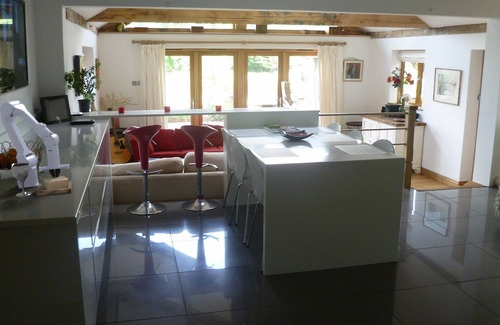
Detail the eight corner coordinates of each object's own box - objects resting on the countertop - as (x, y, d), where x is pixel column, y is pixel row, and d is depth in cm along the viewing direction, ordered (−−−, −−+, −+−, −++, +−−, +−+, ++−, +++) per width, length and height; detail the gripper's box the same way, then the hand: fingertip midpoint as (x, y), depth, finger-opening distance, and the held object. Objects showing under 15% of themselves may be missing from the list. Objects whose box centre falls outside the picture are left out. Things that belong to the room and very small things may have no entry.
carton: (48, 192, 243) (47, 182, 242) (44, 188, 249) (43, 179, 248) (68, 188, 249) (68, 179, 248) (64, 185, 254) (64, 176, 253)
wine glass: (13, 197, 235) (9, 167, 231) (16, 192, 242) (12, 163, 238) (31, 196, 237) (28, 165, 233) (33, 191, 244) (30, 162, 241)
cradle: (36, 195, 237) (36, 191, 237) (39, 187, 251) (38, 183, 250) (71, 192, 242) (71, 188, 241) (72, 184, 255) (72, 181, 255)
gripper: (67, 154, 257) (69, 179, 260) (37, 157, 251) (40, 183, 254) (69, 157, 251) (71, 183, 254) (38, 160, 245) (41, 186, 248)
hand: (55, 183), depth 254 cm, fingers closed
